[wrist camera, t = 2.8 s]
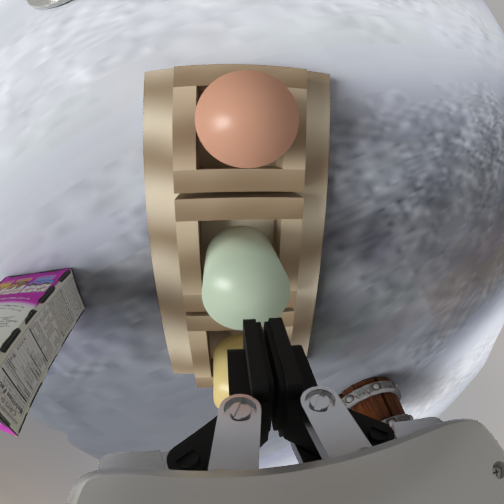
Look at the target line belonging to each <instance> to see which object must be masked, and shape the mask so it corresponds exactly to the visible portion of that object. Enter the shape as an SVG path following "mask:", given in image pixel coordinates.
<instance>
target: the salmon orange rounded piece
mask: <svg viewBox="0 0 504 504" xmlns="http://www.w3.org/2000/svg"><path fill="white" fill-rule="evenodd" d="M195 127H196V132H197V134H198V137H199V139H200V141H201V143H202V145H203V146H204V147H205V149H206V150H207V151H208V152H209V153H210V154H211V155H212V156H213V157H215V158H216V159H218V160H219V161H221V162H223V163H225V164H227V165H230V166H233V167H238V168H256V167H261V166H264V165H267V164H270V163H272V162H274V161H275V160H277V159H279V158H280V157H281V156H282V155H283V154H285V152H286V151H287V150H288V149H289V148H290V146H291V145H292V143H293V142H294V140H295V138H296V135H297V132H298V127H299V112H298V107H297V104H296V101H295V99H294V97H293V95H292V94H291V92H290V91H289V90H288V88H287V87H286V86H285V85H284V84H283V83H282V82H280V81H279V80H278V79H276V78H275V77H273V76H271V75H269V74H266V73H263V72H259V71H254V70H240V71H234V72H230V73H227V74H225V75H223V76H221V77H219V78H217V79H216V80H215V81H213V82H212V83H211V84H210V85H209V86H208V87H207V88H206V89H205V90H204V92H203V93H202V95H201V97H200V99H199V101H198V103H197V106H196V111H195Z"/></svg>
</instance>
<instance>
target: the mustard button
mask: <svg viewBox="0 0 504 504" xmlns="http://www.w3.org/2000/svg"><path fill="white" fill-rule="evenodd" d="M227 349H243V334H234V335H231V336H228V337H226V338H224V339H222V340H221V341H220V342H219V343H218V344H217V345H216V347H215V349H214V352H213V385H214V403H215V405H216V406H217V407H218V408H219V406H220V404H221V402H222V401H223V400H224V399H225V398H227V397H229V384H228V362H227Z"/></svg>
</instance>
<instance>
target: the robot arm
mask: <svg viewBox="0 0 504 504" xmlns="http://www.w3.org/2000/svg"><path fill="white" fill-rule="evenodd" d="M68 1H70V0H26V2H27V3H28V4H29V5H30V6H32V7H34V8H36V9H49V8H53V7H56V6H59V5H62V4H64V3H66V2H68ZM227 362H228V384H229V397H227V398H225V399H224V400H223V401H222V402H221V404H220V406H219V411H218V416H216V417H215V418H214V419H212V420H211V421H210V422H208V423H207V424H206V425H204V426H203V427H202V428H200V429H199V430H198V431H196V432H195V433H194V434H192V435H191V436H189V437H188V438H187V439H185V440H184V441H182V442H181V443H179V444H178V445H176V446H175V447H174V448H173V449H171V450H170V451H166V452H161V451H160V450H155V451H143V452H125V453H110V454H106V455H105V456H103V457H102V458H101V460H100V461H99V467H98V468H99V470H96V471H93V472H89V473H87V474H84V475H83V476H81V477H80V478H79V479H78V480H77V481H76V482H75V484H74V486H73V487H72V490H71V492H70V494H69V497H68V500H67V503H66V504H504V451H503V449H502V448H501V446H500V445H499V443H498V442H497V440H496V439H495V438H494V436H493V435H492V434H491V433H490V432H489V430H488V429H487V428H486V427H485V426H484V425H483V424H481V423H480V422H478V421H476V420H473V419H455V420H448V421H444V422H443V421H441V420H440V419H439V418H436V417H427V418H422V419H415V420H409V421H401V422H393V424H392V425H388V424H386V423H384V422H382V421H379V420H376V419H374V418H371V417H369V416H366V415H363V414H361V413H358V412H356V411H353V410H351V409H349V408H346V406H345V405H344V403H343V402H342V400H341V399H340V397H339V396H338V395H337V393H336V392H335V391H333V390H332V389H330V388H327V387H322V386H317V383H316V381H315V378H314V375H313V373H312V370H311V368H310V365H309V362H308V360H307V357H306V355H305V352H304V349H303V347H302V345H291V343H290V340H289V337H288V334H287V331H286V329H285V326H284V323H283V320H282V318H281V317H279V318H269V319H268V321H266V322H264V332H263V330H262V326H261V322H256V319H243V349H227ZM271 420H272V425H273V430H274V431H275V430H278V432H279V436H280V437H282V436H284V438H285V439H286V440H288V441H290V442H291V446H292V449H293V451H294V453H295V456H296V458H297V460H298V462H299V464H295V465H288V466H281V467H272V468H263V469H259V452H260V447H261V446H262V445H263V444H264V443H265V442H266V441H267V440H268V433H269V431H270V427H271Z"/></svg>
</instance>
